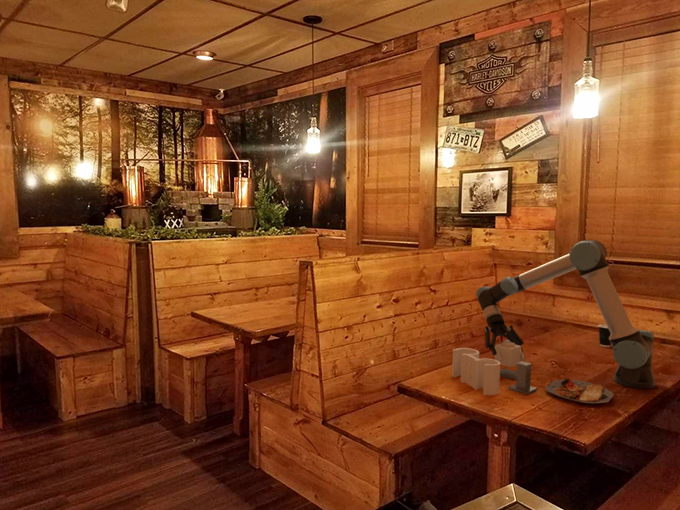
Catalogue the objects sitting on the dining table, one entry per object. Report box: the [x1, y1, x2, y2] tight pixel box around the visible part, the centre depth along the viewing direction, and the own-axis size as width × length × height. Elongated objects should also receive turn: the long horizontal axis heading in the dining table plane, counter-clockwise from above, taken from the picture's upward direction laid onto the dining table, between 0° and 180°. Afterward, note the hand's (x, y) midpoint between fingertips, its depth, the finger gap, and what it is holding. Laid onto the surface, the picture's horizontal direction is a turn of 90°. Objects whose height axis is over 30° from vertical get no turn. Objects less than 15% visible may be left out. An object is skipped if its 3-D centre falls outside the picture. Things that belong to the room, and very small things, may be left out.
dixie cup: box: [597, 323, 612, 348], centre depth 280 cm, size 8×8×11 cm
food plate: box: [545, 377, 615, 405], centre depth 206 cm, size 25×23×4 cm
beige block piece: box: [493, 341, 521, 368], centre depth 229 cm, size 8×8×9 cm
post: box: [508, 360, 538, 395], centre depth 210 cm, size 8×8×11 cm
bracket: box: [451, 347, 501, 396], centre depth 215 cm, size 25×10×12 cm, turn 19°
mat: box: [500, 368, 517, 381], centre depth 229 cm, size 10×10×1 cm
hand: (511, 360), depth 226 cm, fingers closed on beige block piece, 11 cm apart
